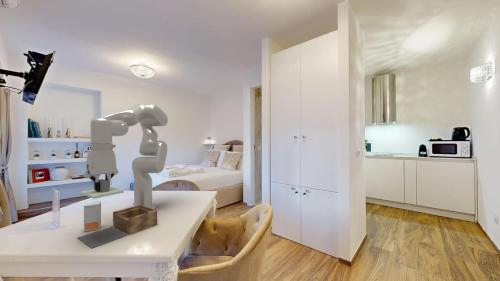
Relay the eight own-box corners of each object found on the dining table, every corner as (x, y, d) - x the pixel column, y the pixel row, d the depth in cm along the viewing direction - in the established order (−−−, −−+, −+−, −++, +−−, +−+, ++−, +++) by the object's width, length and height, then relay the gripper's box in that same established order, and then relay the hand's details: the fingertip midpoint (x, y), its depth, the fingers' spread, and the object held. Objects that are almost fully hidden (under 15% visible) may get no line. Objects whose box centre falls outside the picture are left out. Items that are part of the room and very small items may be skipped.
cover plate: (93, 198, 81) (93, 184, 81) (80, 193, 88) (80, 181, 88) (123, 192, 90) (123, 180, 90) (109, 188, 97) (109, 177, 97)
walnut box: (129, 234, 91) (129, 218, 91) (113, 226, 100) (112, 212, 100) (157, 224, 102) (157, 210, 102) (139, 217, 111) (139, 204, 111)
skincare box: (83, 232, 94) (83, 205, 94) (85, 228, 98) (85, 203, 98) (99, 229, 97) (99, 203, 97) (101, 226, 101) (101, 201, 100)
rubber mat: (77, 238, 88) (77, 237, 88) (111, 227, 99) (111, 226, 99) (91, 248, 80) (91, 247, 80) (127, 235, 90) (127, 234, 90)
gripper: (118, 146, 98) (118, 185, 98) (74, 148, 84) (75, 193, 84) (125, 147, 94) (126, 187, 94) (82, 148, 80) (82, 196, 80)
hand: (102, 190), depth 89 cm, fingers closed on cover plate, 2 cm apart
